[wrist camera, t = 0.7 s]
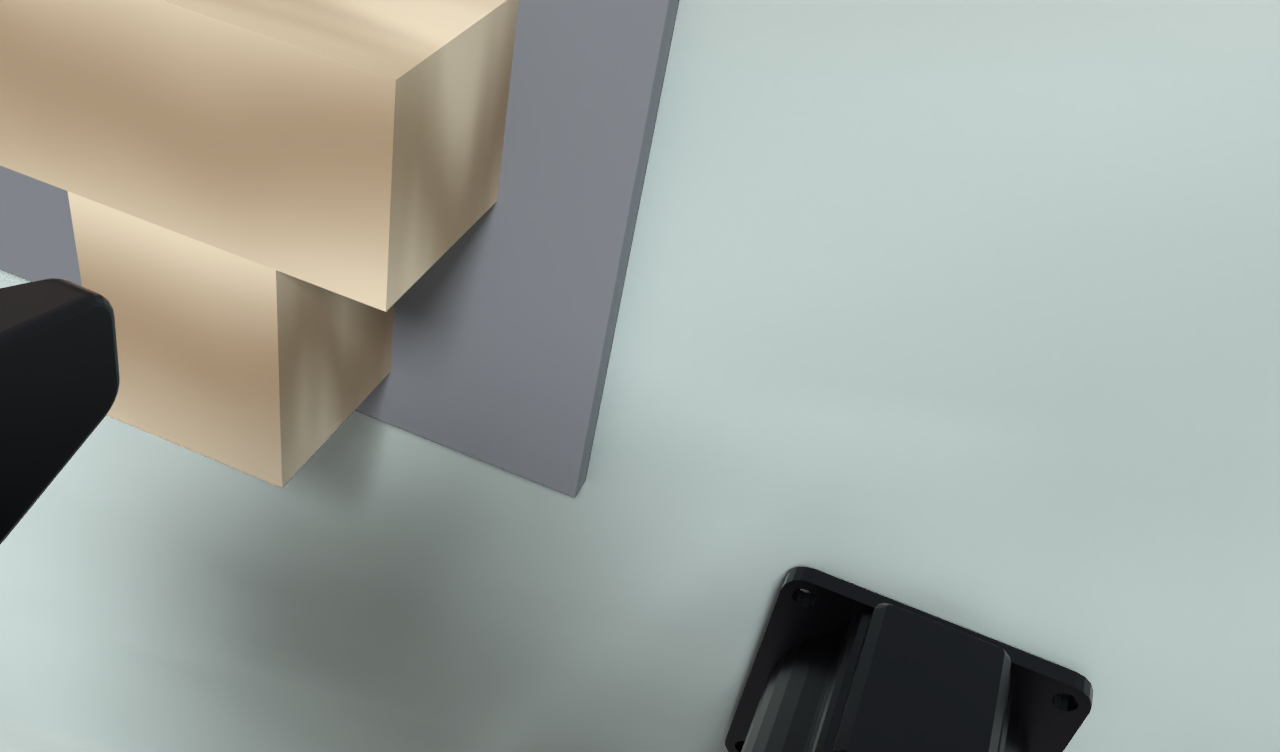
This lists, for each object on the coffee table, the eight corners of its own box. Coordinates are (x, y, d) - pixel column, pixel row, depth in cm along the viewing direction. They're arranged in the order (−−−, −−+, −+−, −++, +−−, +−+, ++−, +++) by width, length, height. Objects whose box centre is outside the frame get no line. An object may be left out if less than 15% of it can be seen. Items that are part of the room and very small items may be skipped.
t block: (475, 404, 25) (376, 528, 22) (150, 277, 27) (15, 377, 24) (519, -9, 20) (395, 80, 16) (104, -142, 21) (-82, -83, 18)
